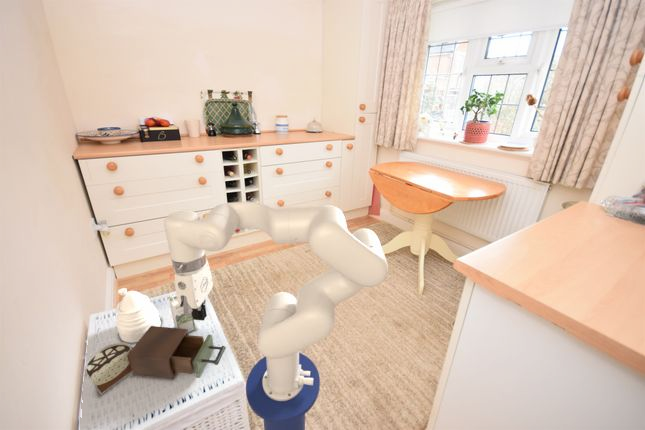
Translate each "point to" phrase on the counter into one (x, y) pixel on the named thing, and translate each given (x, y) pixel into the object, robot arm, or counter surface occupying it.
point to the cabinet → (156, 352)
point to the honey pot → (135, 315)
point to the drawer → (194, 355)
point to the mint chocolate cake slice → (108, 366)
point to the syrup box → (181, 316)
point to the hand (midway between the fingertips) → (199, 317)
